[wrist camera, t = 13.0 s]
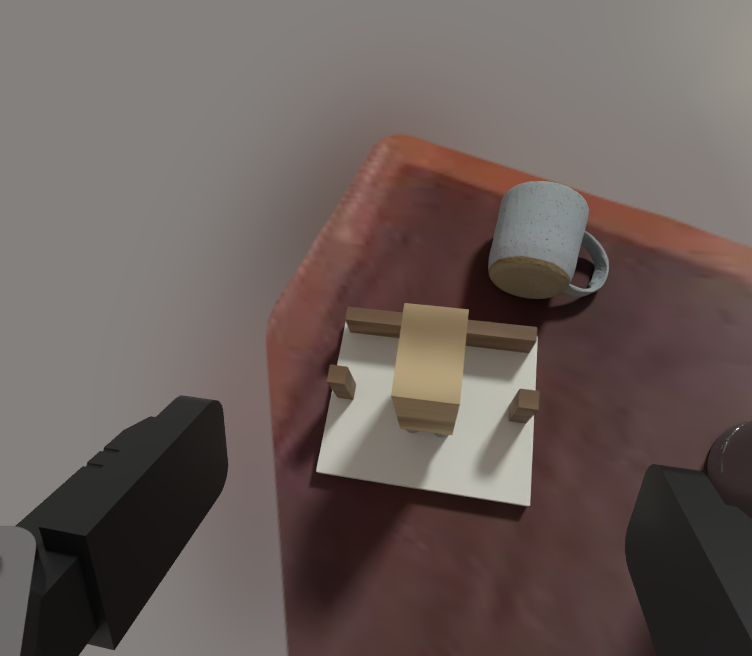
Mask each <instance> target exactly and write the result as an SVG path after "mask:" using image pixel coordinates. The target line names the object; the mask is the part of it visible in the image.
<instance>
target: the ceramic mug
mask: <svg viewBox="0 0 752 656" xmlns="http://www.w3.org/2000/svg"><path fill="white" fill-rule="evenodd" d="M588 215H589V208H588V205H587V202H586V201H585V199H584V198H583V197H582V196H581V195H580V194H579V193H577V192H576V191H574V190H573V189H571V188H569V187H567V186H564V185H561V184H557V183H554V182H546V181H535V182H526V183H522V184H520V185H517V186H515V187H513V188H511V189H510V190H509V191H508V192H507V193H506V194H505V195H504V197H503V199H502V202H501V206H500V211H499V215H498V220H497V224H496V228H495V233H494V238H493V242H492V246H491V251H490V255H489V264H488V273H489V277H490V279H491V280H492V282H493V283H494V284H495V285H496V286H497V287H498V288H500V289H501V290H503V291H505V292H507V293H509V294H512V295H515V296H518V297H523V298H530V299H545V298H551V297H554V296H557V295H559V294H561V293H562V292H563V293H565V294H566V295H569V296H575V297H581V296H586V295H589V294H591V293H593V292H595V291H597V290H598V289H600V288H601V287H602V286H603V284H604V283H605V281H606V279H607V275H608V270H609V263H608V258H607V255H606V253H605V251H604V249H603V248H602V246H601V245H600V243H599V242H598V241H597V240H596V239H595V238H594V237H593V236H592V235H590V234H589V233H588V232H586V231H585V227H586V224H587V220H588ZM581 244H582V246H584V247H585V248H586V249H587V251H588V252H589V253H590V255H591V257H592V259H593V261H594V266H595V269H594V273H593V276H592V279H591V281H590V282H589V284H588V289H582V288H578V287H576V286H573V285H571V284H570V282H571V280H572V277H573V275H574V272H575V269H576V264H577V259H578V254H579V250H580V246H581Z"/></svg>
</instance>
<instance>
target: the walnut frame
mask: <svg viewBox="0 0 752 656" xmlns="http://www.w3.org/2000/svg"><path fill="white" fill-rule="evenodd" d="M402 317H403V313H402V312H392V311H383V310H374V309H365V308H355V307H347V312H346V317H345V320H346V323H347V326H348V328H349V331H350V332H351V333H359V334H368V335H377V336H385V337H394V338H399V337H400V330H401V323H402ZM536 341H537V327H531V326H522V325H513V324H503V323H494V322H485V321H476V320H468V324H467V334H466V345H465V346H471V347H480V348H489V349H497V350H506V351H515V352H523V353H530V352H531V350H532V348H533V346H534V345H535V343H536ZM327 383H328V384H329V386H330V387H331V389H332V390H333V392H334V393H335V395H336V396H337V398H343V399H350V400H354V394H355V389H356V383H355V381H354V379H353V377H352V375H351V372H350V370H349V368H348V367H347V366H339V365H331V364H330V367H329V372H328V377H327ZM538 410H539V391H536V390H528V389H519V390H518V392H517V394H516V395H515V397H514V398H513V400H512V401H511V403H510V405H509V421H511V422H519V423H527V422H528V421H529V420H530V419H531V418H532V416H533V415H534V414H535V413H536V412H537V411H538Z"/></svg>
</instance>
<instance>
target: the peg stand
mask: <svg viewBox="0 0 752 656" xmlns="http://www.w3.org/2000/svg"><path fill="white" fill-rule="evenodd" d="M537 340H538V337H537ZM398 344H399V338H394V337H385V336H377V335H368V334H359V333H351V332H350V331H349V328H348V326H347V323H345V328H344V333H343V338H342V343H341V348H340V353H339V358H338V363H337V365H339V366H347V367H348V368H349V370H350V372H351V375H352V377H353V379H354V381H355V383H356V389H355V394H354V400H350V399H343V398H337V396H336V395H335V393H334V392H333V390H332V394H331V399H330V404H329V409H328V414H327V419H326V424H325V429H324V434H323V439H322V444H321V449H320V454H319V459H318V464H317V469H316V472H318V473H322V474H328V475H334V476H340V477H347V478H353V479H359V480H365V481H371V482H378V483H384V484H390V485H396V486H402V487H409V488H415V489H421V490H427V491H433V492H440V493H446V494H452V495H458V496H464V497H471V498H477V499H483V500H489V501H495V502H502V503H508V504H514V505H520V506H526V507H528V506H530V494H531V472H532V450H533V428H534V415H533V416H532V418H531V419H530V420H529V421H528V422H527V423H519V422H511V421H509V405H510V403H511V401H512V400H513V398H514V397H515V395H516V394H517V392H518V390H519V389H528V390H535V384H536V362H537V341H536V343H535V345H534V346H533V348H532V350H531V352H530V353H523V352H515V351H506V350H497V349H489V348H480V347H471V346H465V356H464V366H463V377H462V388H461V399H460V406H459V410H458V414H457V418H456V423H455V427H454V431H453V435H448V436H446V437H438V436H436V435H435V434H434V433H430V432H423V431H418V432H417V433H409V432H407V431H406V430H405V429H401V428H400V426H399V423H398V419H397V416H396V412H395V408H394V405H393V401H392V398H391V392H392V385H393V378H394V372H395V365H396V358H397V351H398Z"/></svg>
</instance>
